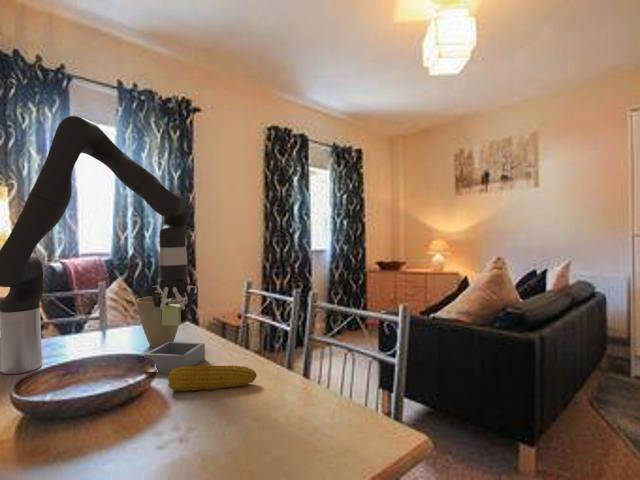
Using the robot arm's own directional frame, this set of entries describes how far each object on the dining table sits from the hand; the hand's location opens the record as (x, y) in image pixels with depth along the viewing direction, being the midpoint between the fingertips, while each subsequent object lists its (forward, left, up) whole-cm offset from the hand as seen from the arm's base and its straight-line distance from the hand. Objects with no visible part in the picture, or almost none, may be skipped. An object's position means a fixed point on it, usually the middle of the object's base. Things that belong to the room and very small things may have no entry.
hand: (175, 321), depth 113 cm
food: (+17, -13, -13) cm, 26 cm away
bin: (0, 0, -13) cm, 13 cm away
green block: (0, 0, 0) cm, 0 cm away
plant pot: (-16, +19, -13) cm, 28 cm away
